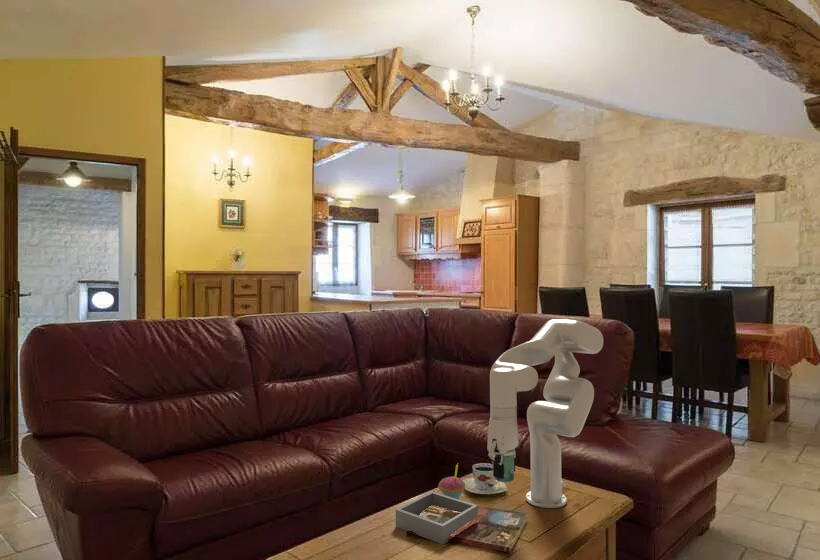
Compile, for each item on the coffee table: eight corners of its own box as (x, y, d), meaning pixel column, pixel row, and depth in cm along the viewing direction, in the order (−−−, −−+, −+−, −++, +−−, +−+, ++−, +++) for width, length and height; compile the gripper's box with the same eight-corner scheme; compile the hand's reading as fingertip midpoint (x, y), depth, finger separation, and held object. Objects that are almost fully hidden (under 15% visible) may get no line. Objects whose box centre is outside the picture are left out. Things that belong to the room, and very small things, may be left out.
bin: (431, 507, 176) (431, 491, 175) (477, 522, 165) (477, 505, 165) (395, 526, 163) (395, 509, 162) (443, 544, 152) (442, 526, 152)
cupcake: (465, 494, 185) (464, 458, 185) (465, 505, 176) (464, 467, 176) (439, 494, 186) (438, 458, 186) (437, 504, 177) (437, 467, 177)
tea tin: (500, 473, 166) (500, 446, 165) (518, 477, 162) (518, 450, 162) (490, 479, 161) (490, 451, 161) (508, 483, 158) (507, 455, 157)
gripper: (507, 403, 170) (508, 463, 171) (475, 415, 157) (476, 480, 157) (529, 407, 165) (530, 468, 166) (499, 420, 152) (500, 486, 153)
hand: (504, 473), depth 162 cm, fingers closed on tea tin, 5 cm apart
